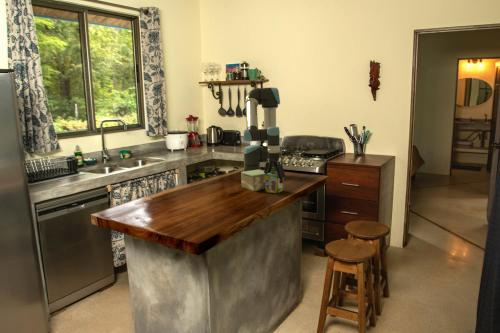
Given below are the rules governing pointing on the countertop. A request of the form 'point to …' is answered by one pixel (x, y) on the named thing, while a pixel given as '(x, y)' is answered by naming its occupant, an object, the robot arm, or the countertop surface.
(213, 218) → the countertop surface
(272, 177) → the chalk box
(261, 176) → the crate
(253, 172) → the lid
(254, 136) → the robot arm
